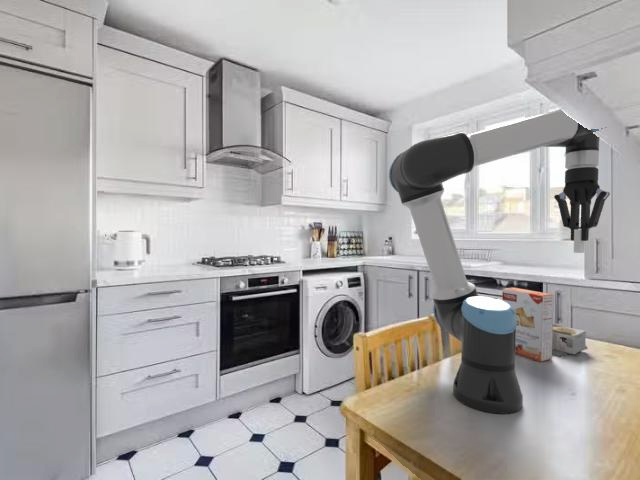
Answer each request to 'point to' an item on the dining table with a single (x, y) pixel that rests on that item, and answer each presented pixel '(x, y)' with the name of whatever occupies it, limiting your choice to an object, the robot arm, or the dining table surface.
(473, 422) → the dining table surface
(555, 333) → the coffee box
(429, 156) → the robot arm
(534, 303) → the cracker box
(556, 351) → the mat
